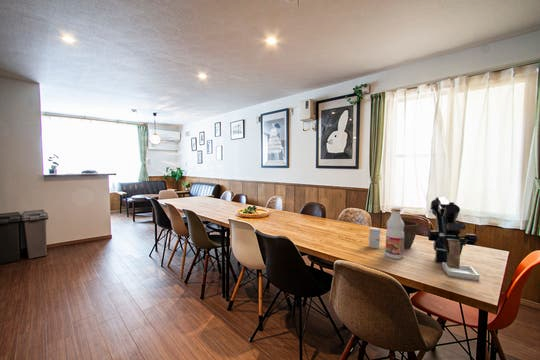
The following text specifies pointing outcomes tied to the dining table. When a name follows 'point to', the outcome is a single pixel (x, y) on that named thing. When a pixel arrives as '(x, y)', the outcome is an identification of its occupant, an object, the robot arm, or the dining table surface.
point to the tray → (461, 272)
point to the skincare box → (374, 238)
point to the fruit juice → (395, 235)
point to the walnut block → (453, 254)
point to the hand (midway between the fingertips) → (454, 253)
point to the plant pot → (409, 233)
